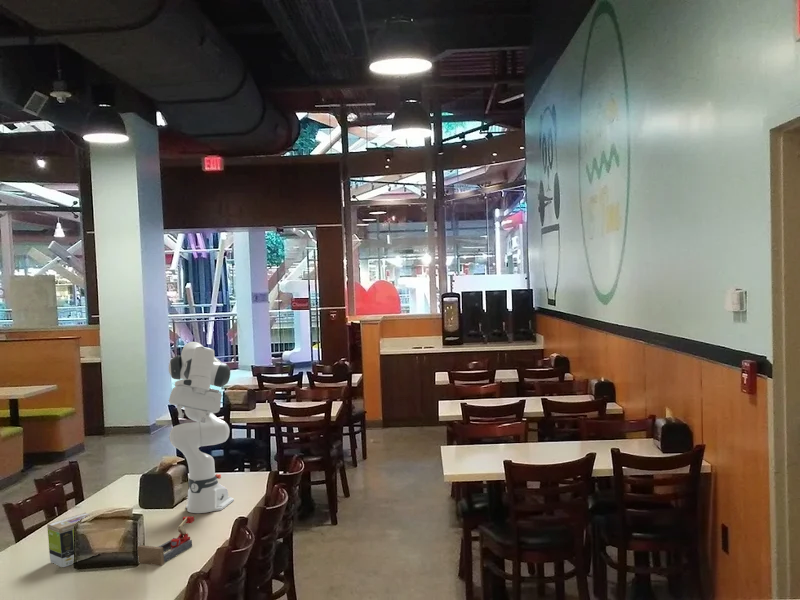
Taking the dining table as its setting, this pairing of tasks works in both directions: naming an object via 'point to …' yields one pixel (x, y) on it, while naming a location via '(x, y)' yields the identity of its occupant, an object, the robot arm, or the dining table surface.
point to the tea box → (63, 540)
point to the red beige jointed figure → (181, 533)
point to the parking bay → (160, 552)
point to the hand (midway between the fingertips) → (192, 420)
